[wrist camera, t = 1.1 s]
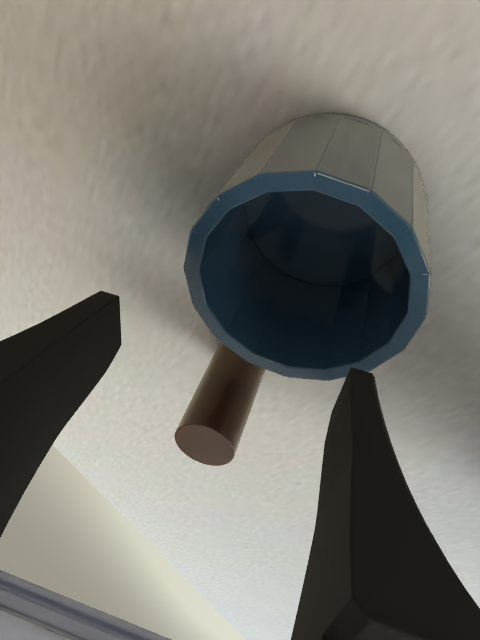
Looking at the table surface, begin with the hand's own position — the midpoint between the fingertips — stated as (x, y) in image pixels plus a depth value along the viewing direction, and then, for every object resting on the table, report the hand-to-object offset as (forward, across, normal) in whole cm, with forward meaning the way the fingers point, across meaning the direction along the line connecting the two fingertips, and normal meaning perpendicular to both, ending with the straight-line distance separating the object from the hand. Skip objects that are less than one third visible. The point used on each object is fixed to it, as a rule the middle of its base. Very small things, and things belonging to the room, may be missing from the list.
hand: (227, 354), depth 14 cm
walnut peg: (+10, +1, +9) cm, 13 cm away
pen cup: (+10, -1, -1) cm, 10 cm away
